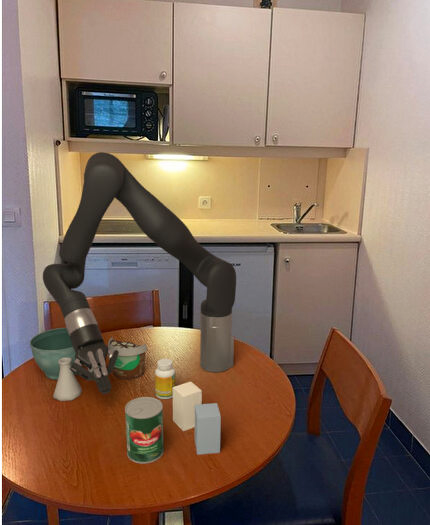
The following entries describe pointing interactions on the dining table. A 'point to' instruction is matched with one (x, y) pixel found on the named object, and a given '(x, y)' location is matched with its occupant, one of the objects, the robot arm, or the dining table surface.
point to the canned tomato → (144, 429)
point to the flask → (66, 382)
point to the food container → (128, 359)
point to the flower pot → (52, 350)
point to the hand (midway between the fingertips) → (106, 392)
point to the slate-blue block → (207, 428)
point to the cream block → (185, 404)
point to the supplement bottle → (164, 379)
